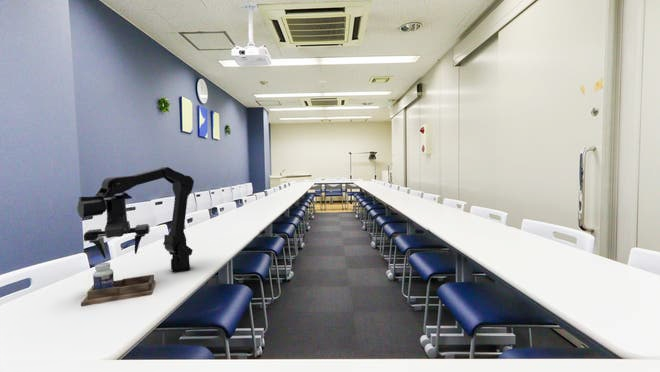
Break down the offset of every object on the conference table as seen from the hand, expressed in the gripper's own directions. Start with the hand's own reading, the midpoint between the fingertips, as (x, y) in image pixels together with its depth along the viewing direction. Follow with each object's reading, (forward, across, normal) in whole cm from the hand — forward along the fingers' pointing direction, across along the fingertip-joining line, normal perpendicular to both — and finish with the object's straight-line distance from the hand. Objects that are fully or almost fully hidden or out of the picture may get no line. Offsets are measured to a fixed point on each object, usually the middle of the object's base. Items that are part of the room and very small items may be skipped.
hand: (120, 255), depth 109 cm
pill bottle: (+10, -4, -7) cm, 13 cm away
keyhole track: (+11, 0, -7) cm, 13 cm away
